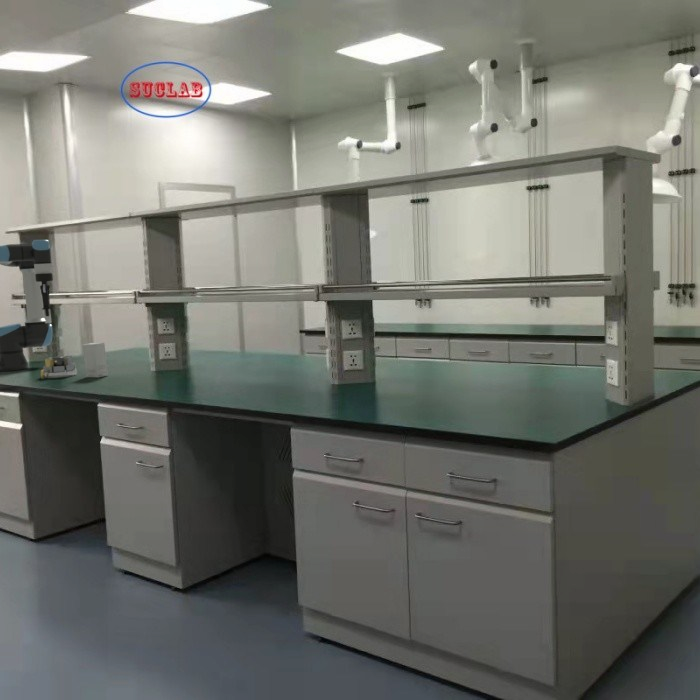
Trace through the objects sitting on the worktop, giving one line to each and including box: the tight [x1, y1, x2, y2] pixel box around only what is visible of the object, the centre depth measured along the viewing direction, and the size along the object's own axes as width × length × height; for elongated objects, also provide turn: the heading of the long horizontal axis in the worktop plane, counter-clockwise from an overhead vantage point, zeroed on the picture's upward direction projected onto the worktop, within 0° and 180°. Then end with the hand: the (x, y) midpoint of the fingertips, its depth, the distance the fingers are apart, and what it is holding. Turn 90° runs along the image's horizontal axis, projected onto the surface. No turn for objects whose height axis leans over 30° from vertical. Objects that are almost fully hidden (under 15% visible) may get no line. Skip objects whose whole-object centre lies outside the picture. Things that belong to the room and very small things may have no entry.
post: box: [40, 369, 46, 380], centre depth 354 cm, size 2×2×4 cm
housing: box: [44, 355, 78, 379], centre depth 361 cm, size 15×15×9 cm
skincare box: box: [82, 342, 109, 379], centre depth 352 cm, size 8×7×16 cm
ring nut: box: [42, 355, 77, 372], centre depth 361 cm, size 14×14×6 cm
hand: (48, 322), depth 360 cm, fingers closed
